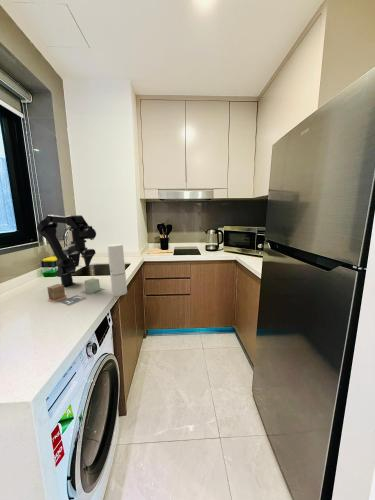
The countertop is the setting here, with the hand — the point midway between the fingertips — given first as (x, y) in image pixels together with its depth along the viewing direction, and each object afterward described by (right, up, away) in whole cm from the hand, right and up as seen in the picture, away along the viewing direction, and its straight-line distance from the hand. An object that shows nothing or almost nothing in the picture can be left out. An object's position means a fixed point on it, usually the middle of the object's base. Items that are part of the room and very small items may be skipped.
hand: (82, 266), depth 112 cm
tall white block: (+24, -13, -9) cm, 29 cm away
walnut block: (-6, -14, -12) cm, 20 cm away
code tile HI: (+8, -13, -4) cm, 16 cm away
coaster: (-6, -15, -12) cm, 20 cm away
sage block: (+8, -12, -5) cm, 15 cm away
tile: (+4, -15, -16) cm, 22 cm away
